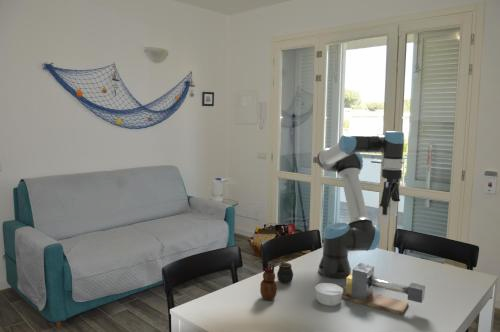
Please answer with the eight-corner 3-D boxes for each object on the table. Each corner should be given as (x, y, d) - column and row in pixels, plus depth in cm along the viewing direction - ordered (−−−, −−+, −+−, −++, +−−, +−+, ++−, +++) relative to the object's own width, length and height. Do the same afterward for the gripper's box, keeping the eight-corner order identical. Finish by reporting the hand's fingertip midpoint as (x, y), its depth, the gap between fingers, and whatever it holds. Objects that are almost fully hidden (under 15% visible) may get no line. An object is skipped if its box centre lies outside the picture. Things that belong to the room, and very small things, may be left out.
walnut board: (336, 296, 162) (336, 294, 162) (345, 288, 170) (345, 285, 170) (402, 315, 147) (402, 312, 147) (408, 305, 156) (408, 302, 155)
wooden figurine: (278, 296, 161) (279, 261, 159) (274, 302, 156) (275, 266, 154) (262, 294, 163) (263, 259, 161) (258, 299, 158) (259, 263, 156)
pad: (339, 294, 162) (339, 293, 161) (346, 286, 169) (346, 286, 169) (351, 297, 159) (351, 296, 159) (358, 289, 166) (358, 289, 166)
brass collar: (345, 294, 161) (346, 277, 160) (351, 288, 167) (352, 272, 166) (351, 295, 160) (352, 279, 159) (357, 289, 165) (358, 273, 165)
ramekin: (326, 309, 151) (326, 296, 150) (308, 298, 161) (309, 285, 160) (348, 304, 156) (349, 291, 155) (330, 293, 166) (331, 281, 165)
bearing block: (351, 297, 159) (352, 269, 157) (358, 289, 166) (359, 263, 165) (365, 301, 155) (367, 272, 154) (372, 293, 163) (374, 266, 161)
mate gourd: (285, 286, 171) (285, 264, 170) (273, 281, 177) (273, 259, 176) (296, 282, 176) (296, 260, 175) (284, 277, 182) (284, 256, 181)
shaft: (355, 286, 159) (356, 274, 159) (359, 282, 163) (360, 270, 163) (421, 303, 145) (422, 290, 145) (424, 298, 150) (425, 285, 149)
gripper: (393, 172, 149) (390, 227, 151) (408, 166, 170) (405, 215, 172) (374, 170, 153) (371, 223, 156) (390, 165, 174) (388, 212, 176)
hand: (389, 219), depth 164 cm, fingers open, 13 cm apart
